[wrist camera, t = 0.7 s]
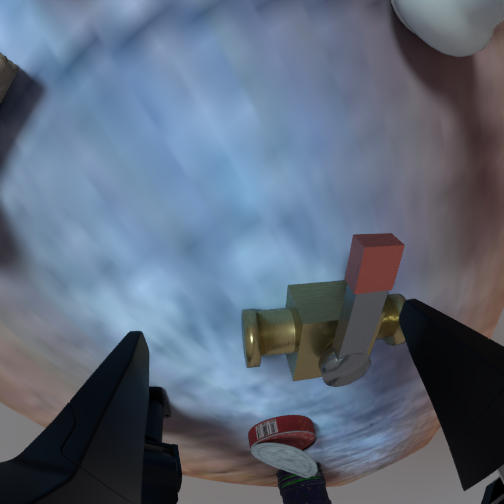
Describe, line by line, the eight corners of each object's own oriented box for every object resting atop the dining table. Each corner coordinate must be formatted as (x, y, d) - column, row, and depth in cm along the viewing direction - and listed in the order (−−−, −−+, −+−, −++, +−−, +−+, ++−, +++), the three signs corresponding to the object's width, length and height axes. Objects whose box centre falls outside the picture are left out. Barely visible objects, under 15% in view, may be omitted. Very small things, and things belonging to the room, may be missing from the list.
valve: (378, 328, 30) (400, 364, 25) (241, 345, 29) (248, 391, 24) (395, 275, 27) (425, 310, 22) (241, 288, 25) (249, 335, 20)
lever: (357, 368, 24) (363, 381, 22) (314, 375, 23) (319, 390, 22) (398, 233, 18) (412, 244, 16) (344, 235, 17) (355, 247, 16)
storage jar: (282, 464, 48) (296, 528, 35) (327, 458, 50) (345, 517, 37) (271, 478, 52) (282, 534, 39) (311, 473, 54) (325, 526, 41)
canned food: (279, 419, 46) (271, 472, 40) (238, 409, 41) (227, 469, 35) (337, 418, 39) (330, 479, 33) (301, 410, 34) (290, 482, 28)
